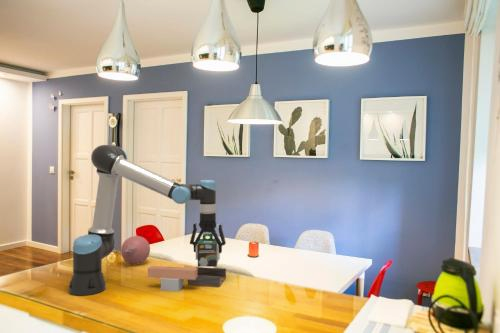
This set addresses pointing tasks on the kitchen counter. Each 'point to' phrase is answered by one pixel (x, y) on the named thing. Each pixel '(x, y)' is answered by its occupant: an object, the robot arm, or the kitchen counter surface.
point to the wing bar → (173, 272)
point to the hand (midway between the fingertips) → (207, 259)
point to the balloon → (135, 250)
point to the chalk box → (207, 251)
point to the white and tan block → (171, 284)
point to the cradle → (209, 277)
